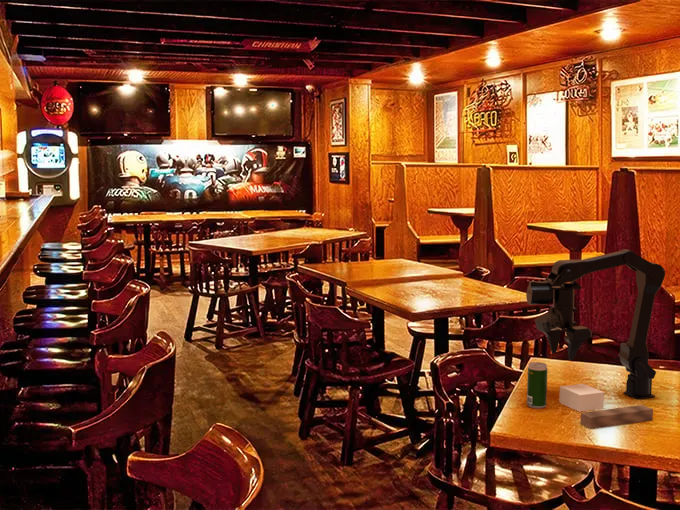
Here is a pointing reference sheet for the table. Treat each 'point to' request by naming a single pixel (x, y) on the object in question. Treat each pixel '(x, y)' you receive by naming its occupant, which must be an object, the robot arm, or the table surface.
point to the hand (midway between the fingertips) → (562, 356)
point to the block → (581, 397)
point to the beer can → (537, 385)
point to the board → (616, 416)
